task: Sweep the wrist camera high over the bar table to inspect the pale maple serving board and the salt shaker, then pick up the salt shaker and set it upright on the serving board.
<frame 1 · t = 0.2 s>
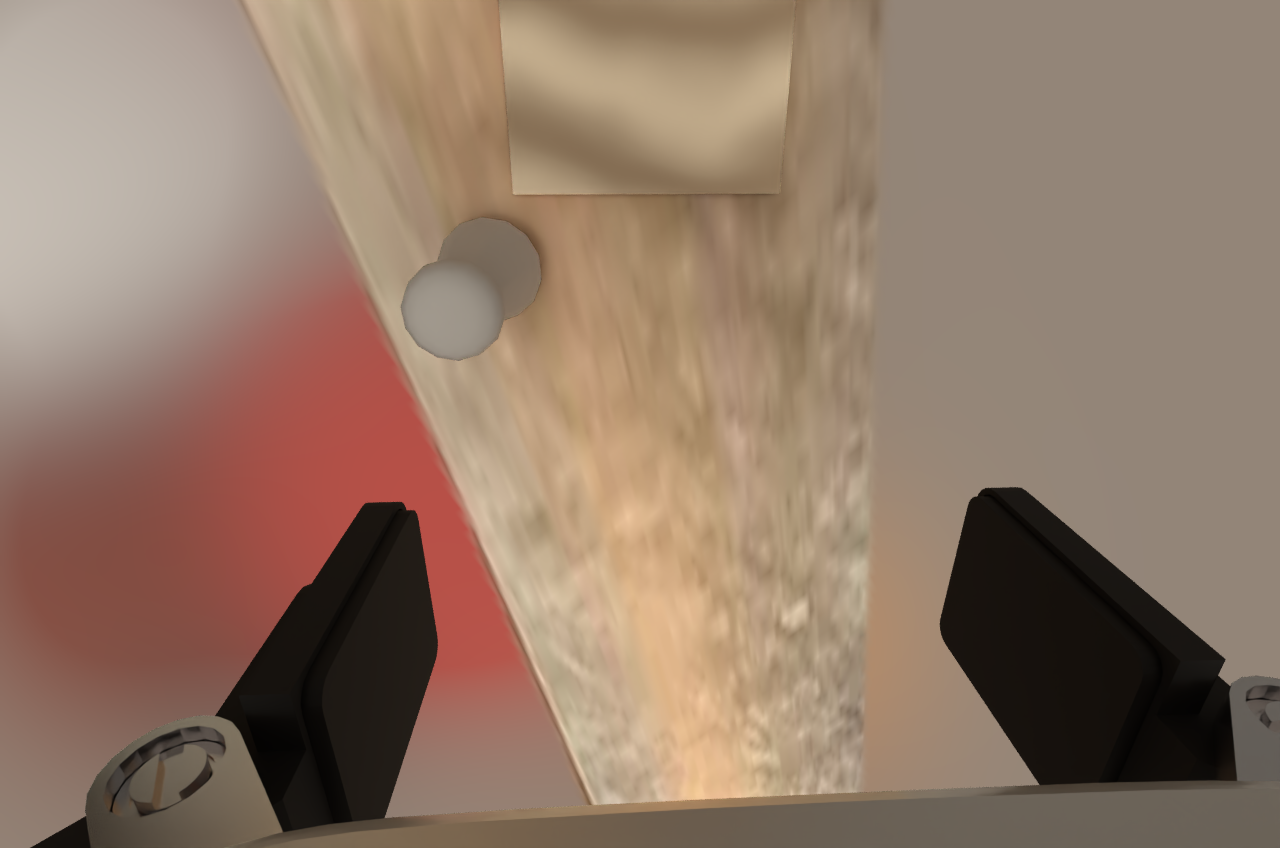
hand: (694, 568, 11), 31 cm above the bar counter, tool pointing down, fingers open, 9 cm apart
serving board: (646, 10, 34), on the bar counter
salt shaker: (496, 262, 39), on the bar counter
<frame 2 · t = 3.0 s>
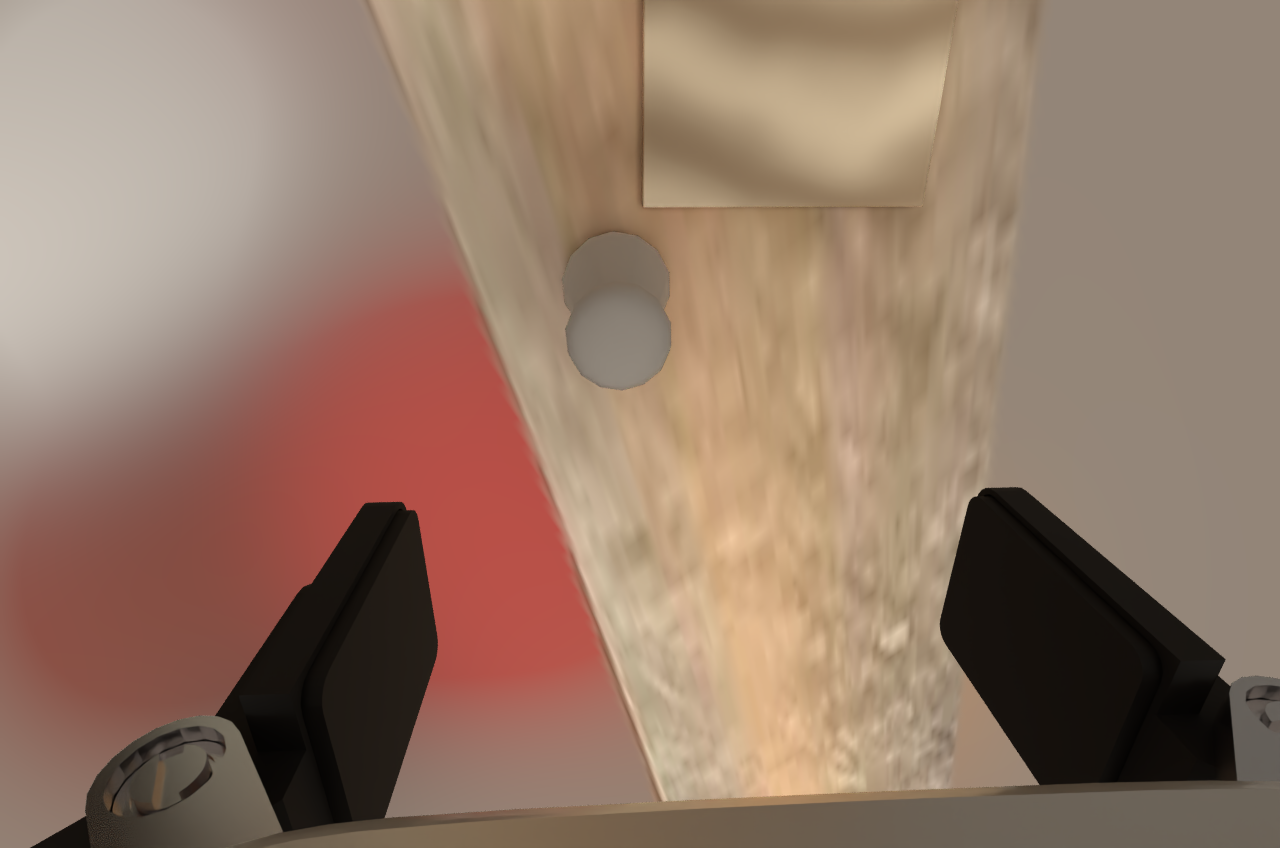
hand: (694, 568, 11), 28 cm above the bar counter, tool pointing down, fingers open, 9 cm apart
serving board: (794, 13, 32), on the bar counter
salt shaker: (615, 277, 37), on the bar counter
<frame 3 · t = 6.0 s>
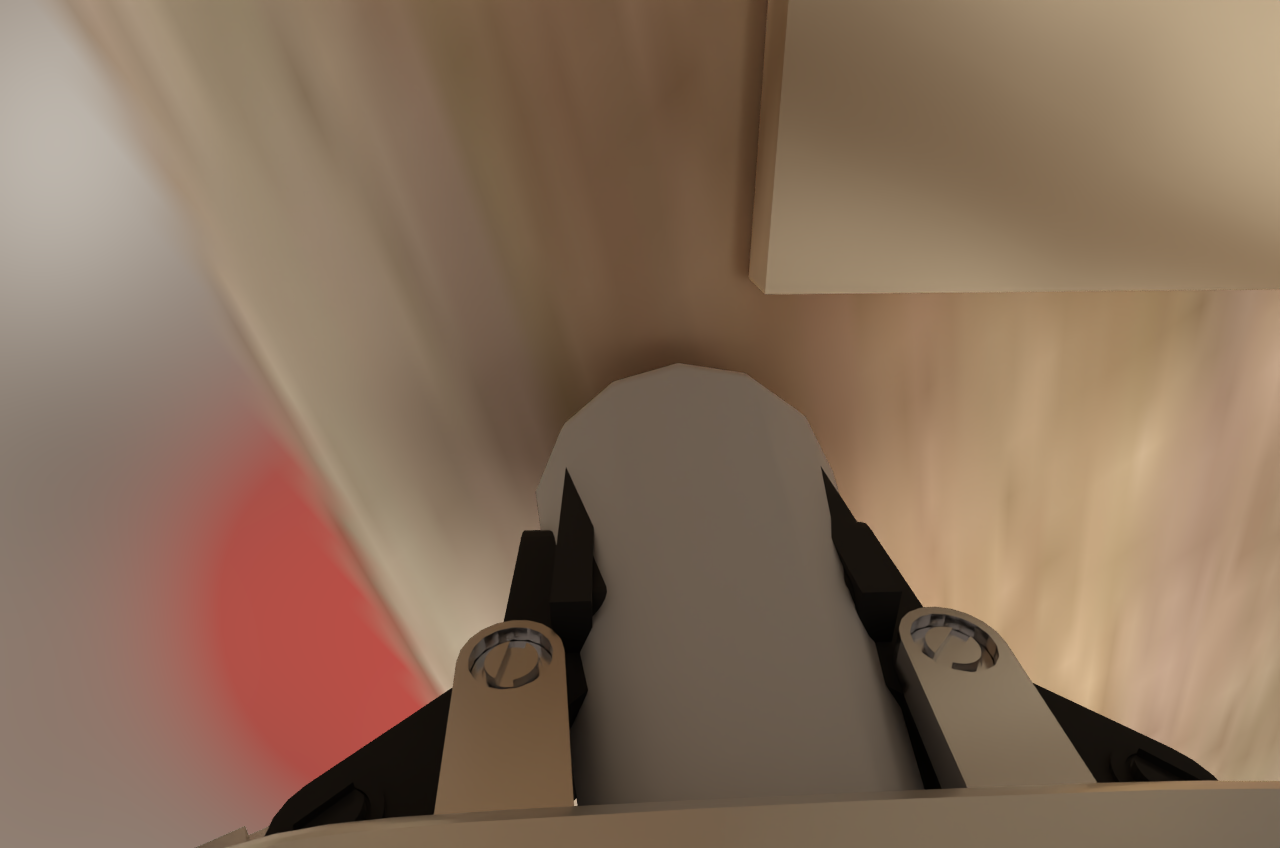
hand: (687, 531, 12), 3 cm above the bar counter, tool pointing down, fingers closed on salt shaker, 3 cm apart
salt shaker: (672, 449, 15), on the bar counter, touching gripper
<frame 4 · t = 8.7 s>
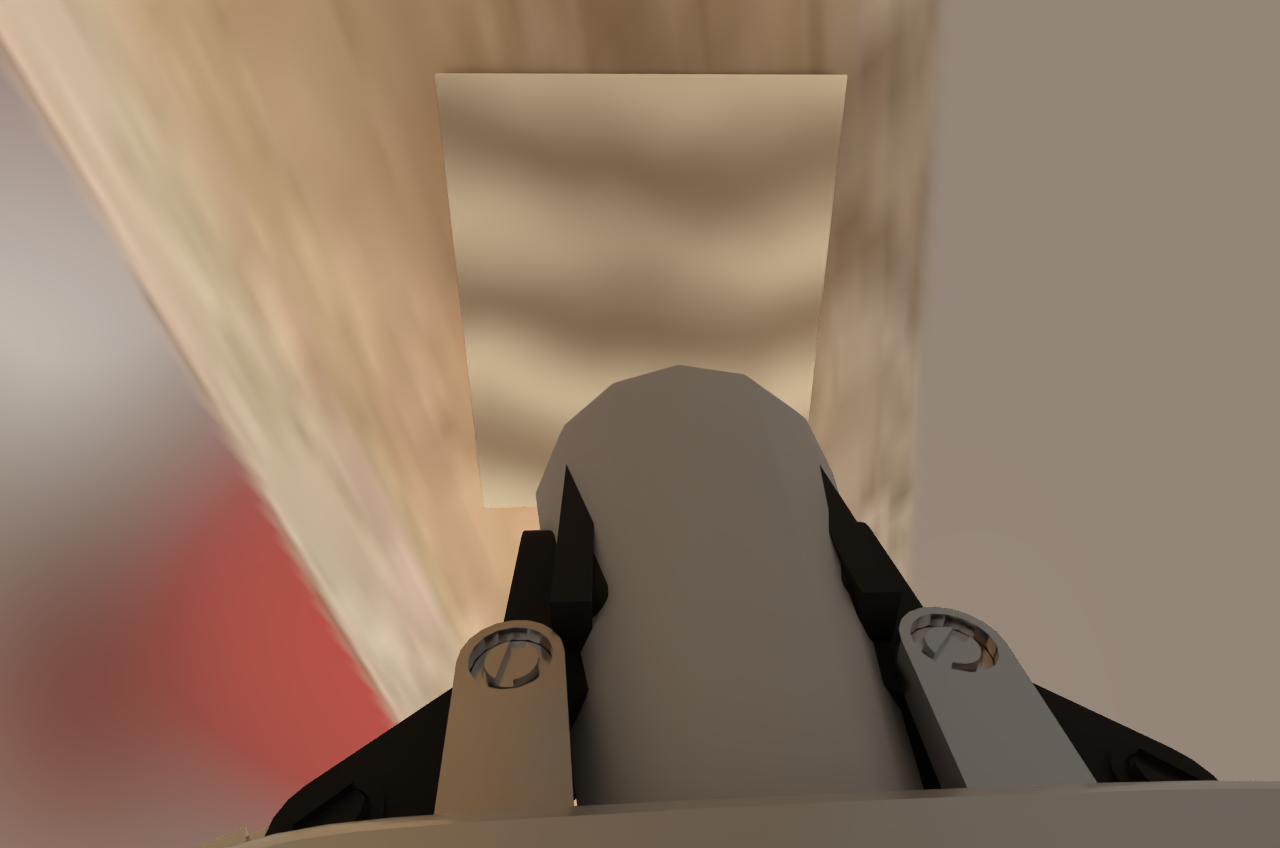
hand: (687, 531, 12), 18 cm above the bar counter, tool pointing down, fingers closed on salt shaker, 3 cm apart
serving board: (641, 309, 28), on the bar counter
salt shaker: (672, 450, 15), point 14 cm above the bar counter, touching gripper
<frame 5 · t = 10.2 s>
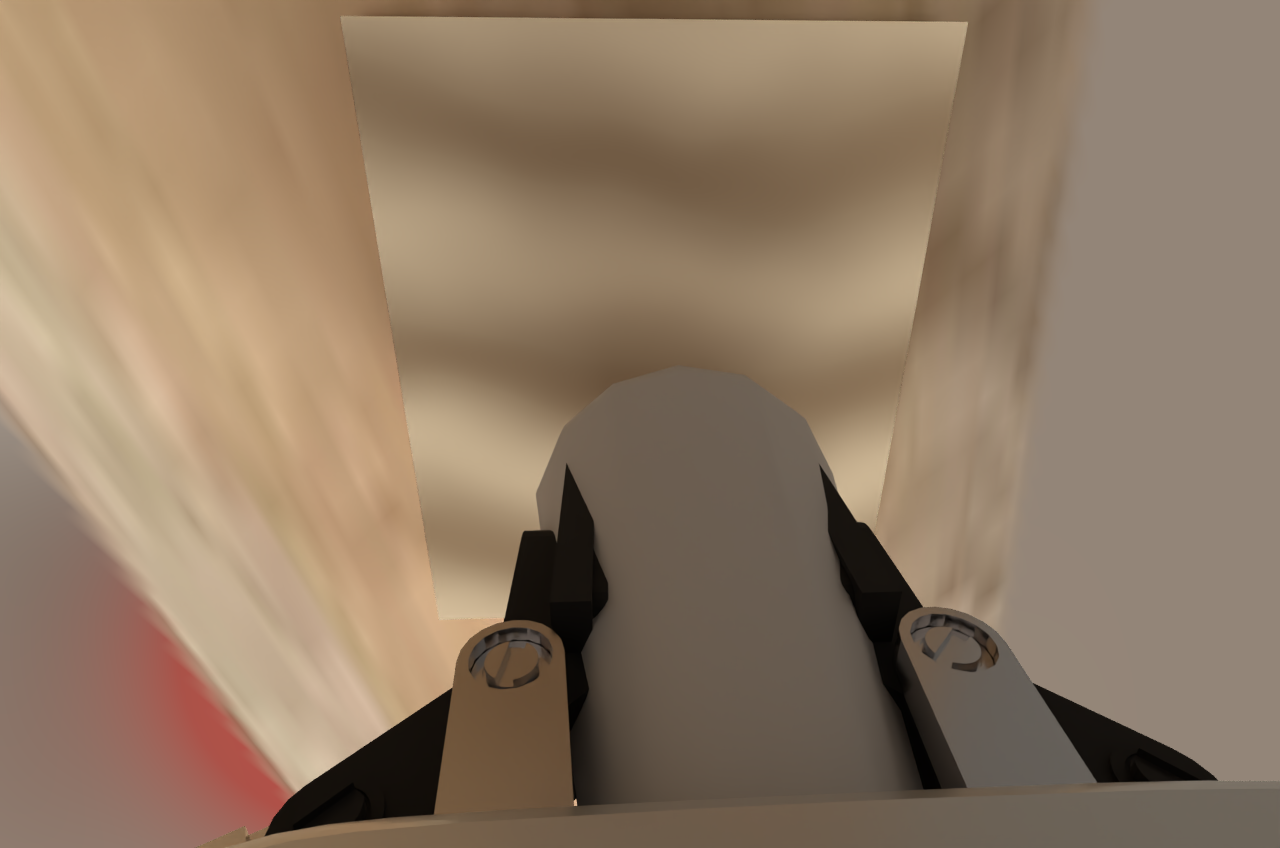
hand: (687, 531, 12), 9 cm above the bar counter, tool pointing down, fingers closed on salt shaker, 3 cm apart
serving board: (652, 358, 20), on the bar counter
salt shaker: (672, 451, 15), point 6 cm above the bar counter, touching gripper
when the fingers open (6 cm above the bar counter, at t = 11.5 s): salt shaker drops 1 cm, resting on serving board.
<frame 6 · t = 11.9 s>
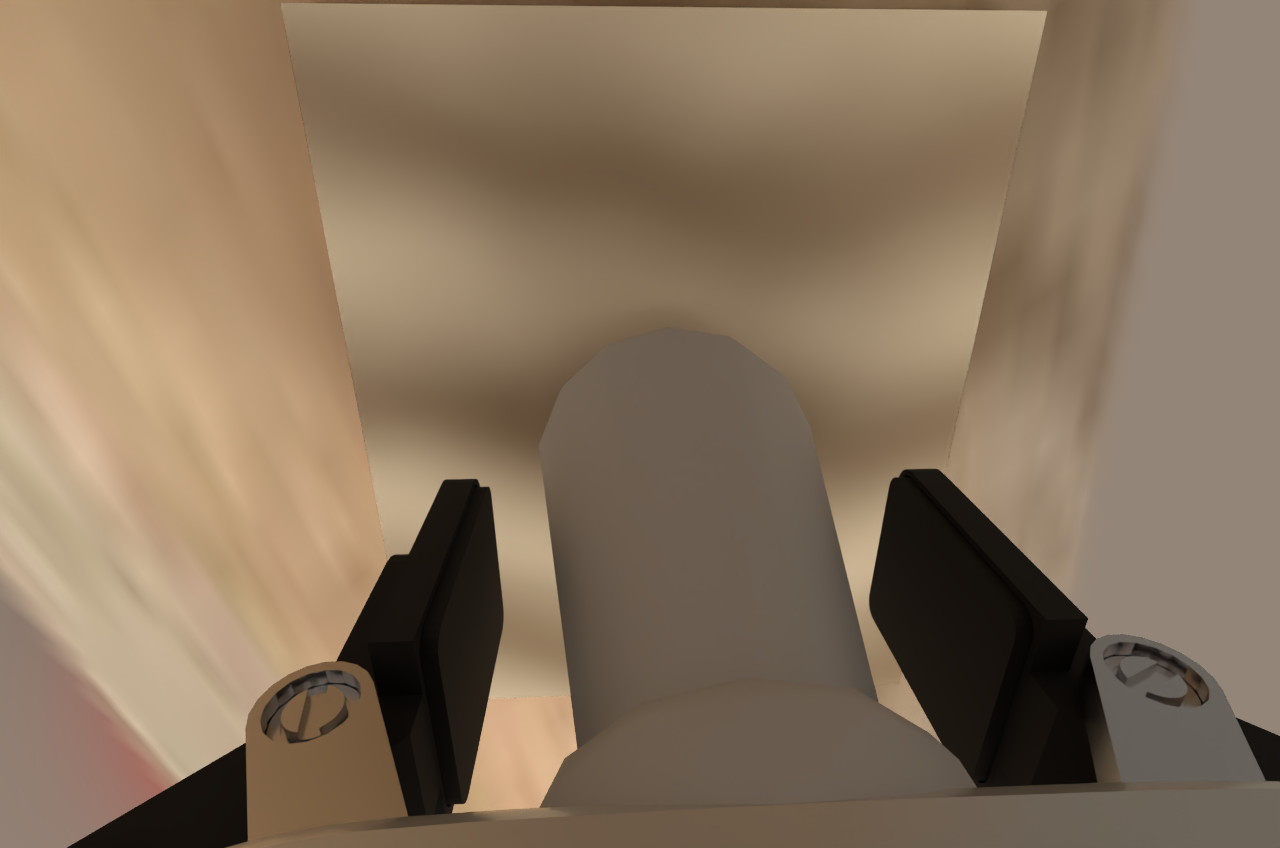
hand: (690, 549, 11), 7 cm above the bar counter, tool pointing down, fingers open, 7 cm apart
serving board: (661, 404, 18), on the bar counter
salt shaker: (666, 417, 16), point 1 cm above the bar counter, touching serving board
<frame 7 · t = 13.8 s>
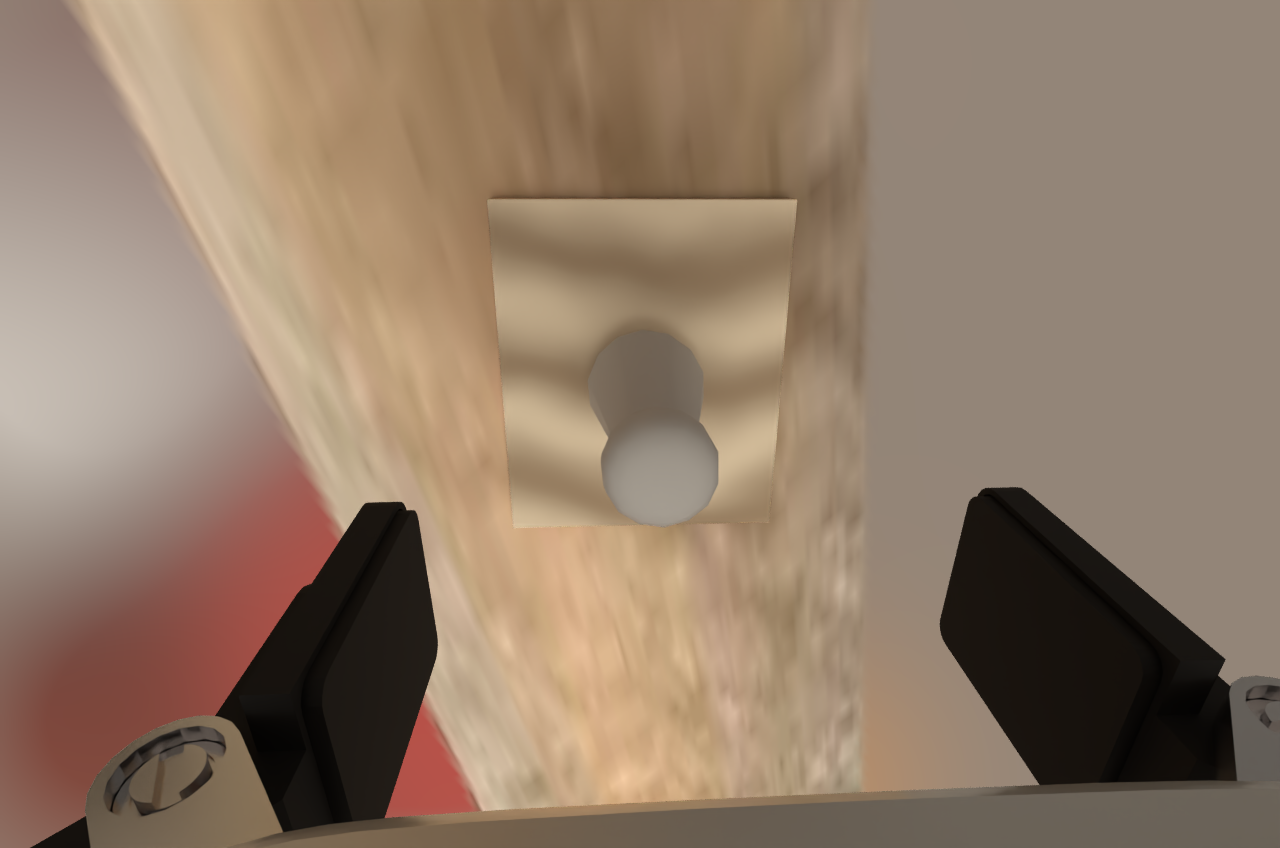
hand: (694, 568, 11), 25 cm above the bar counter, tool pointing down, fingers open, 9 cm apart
serving board: (641, 369, 36), on the bar counter
salt shaker: (643, 372, 35), point 1 cm above the bar counter, touching serving board
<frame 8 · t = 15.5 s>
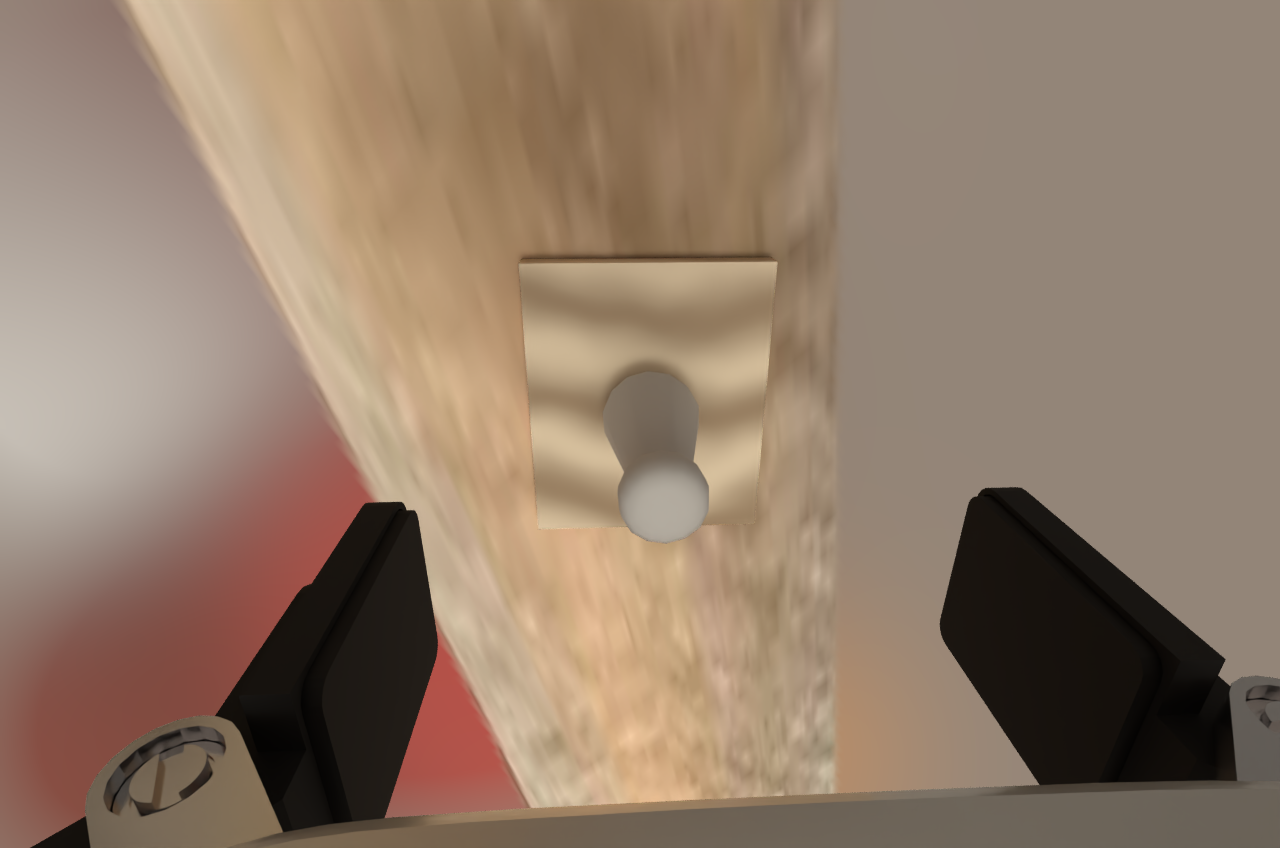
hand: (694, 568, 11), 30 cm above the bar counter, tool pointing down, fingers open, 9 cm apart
serving board: (646, 397, 42), on the bar counter
salt shaker: (648, 402, 41), point 1 cm above the bar counter, touching serving board
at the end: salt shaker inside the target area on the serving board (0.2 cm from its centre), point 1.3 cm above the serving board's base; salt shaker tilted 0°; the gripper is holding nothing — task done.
